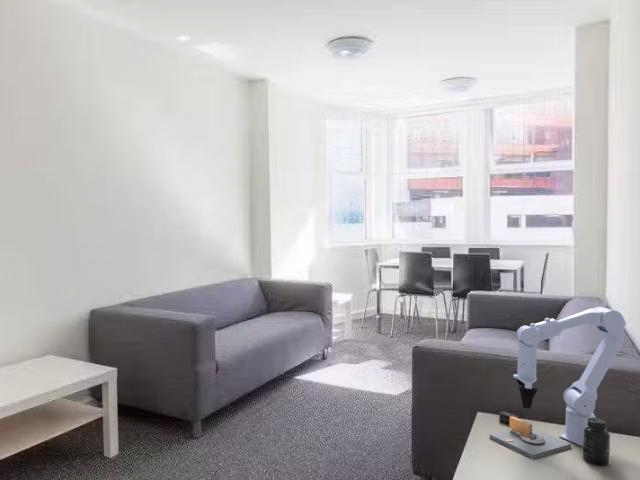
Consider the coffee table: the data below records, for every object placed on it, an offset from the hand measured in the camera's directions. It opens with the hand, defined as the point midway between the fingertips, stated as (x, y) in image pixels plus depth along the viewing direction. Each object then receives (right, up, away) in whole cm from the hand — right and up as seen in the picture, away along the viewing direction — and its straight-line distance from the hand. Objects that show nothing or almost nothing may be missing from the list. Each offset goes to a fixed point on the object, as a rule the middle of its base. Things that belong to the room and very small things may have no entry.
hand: (525, 404), depth 157 cm
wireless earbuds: (0, -11, +10) cm, 15 cm away
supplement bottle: (+13, -11, -17) cm, 24 cm away
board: (-1, -10, -6) cm, 12 cm away
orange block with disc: (-2, -9, -4) cm, 10 cm away
